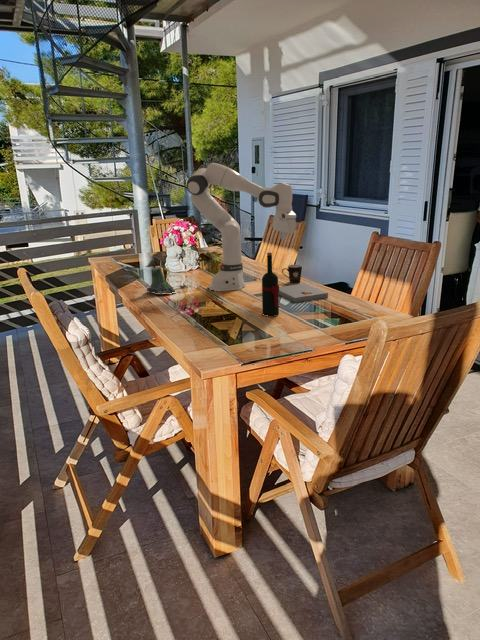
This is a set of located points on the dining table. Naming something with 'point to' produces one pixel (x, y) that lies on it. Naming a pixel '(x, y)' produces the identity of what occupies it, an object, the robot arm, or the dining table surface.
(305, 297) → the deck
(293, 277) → the coffee mug
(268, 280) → the wine bottle
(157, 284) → the tree stump
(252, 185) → the robot arm
